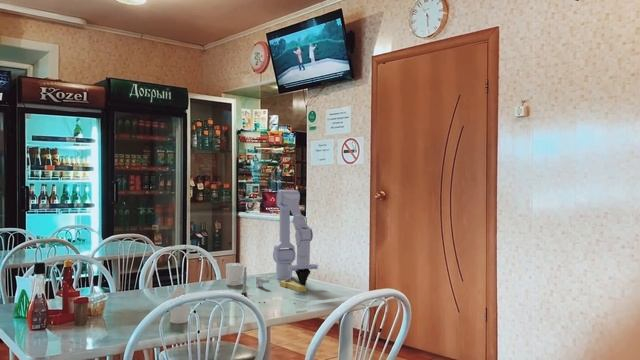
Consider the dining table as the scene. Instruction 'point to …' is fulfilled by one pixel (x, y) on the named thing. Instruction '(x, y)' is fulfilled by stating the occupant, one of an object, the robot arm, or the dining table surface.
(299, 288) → the link
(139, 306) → the dining table surface
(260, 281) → the keeper
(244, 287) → the tow hook
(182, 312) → the roll
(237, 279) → the white cup
